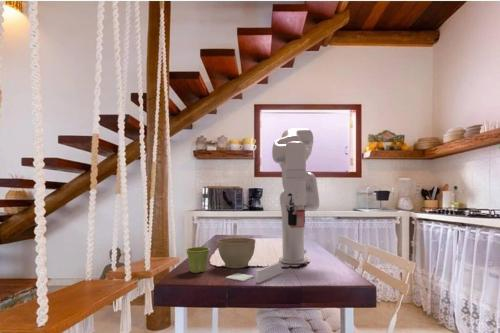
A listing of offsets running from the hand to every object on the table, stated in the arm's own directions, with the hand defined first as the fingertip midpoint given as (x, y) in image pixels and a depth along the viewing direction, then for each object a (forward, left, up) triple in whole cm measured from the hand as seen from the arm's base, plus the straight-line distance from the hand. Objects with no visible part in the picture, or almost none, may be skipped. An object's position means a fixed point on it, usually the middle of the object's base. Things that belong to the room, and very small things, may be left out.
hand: (296, 223), depth 120 cm
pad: (+11, -18, -19) cm, 29 cm away
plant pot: (+12, -38, -20) cm, 44 cm away
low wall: (+5, -9, -19) cm, 22 cm away
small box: (0, 0, -1) cm, 1 cm away
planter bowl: (-3, -30, -20) cm, 36 cm away
